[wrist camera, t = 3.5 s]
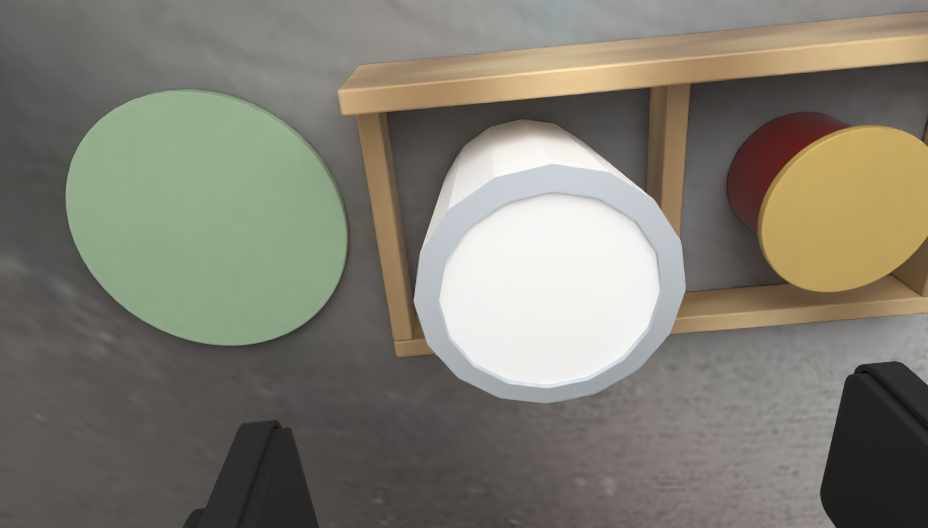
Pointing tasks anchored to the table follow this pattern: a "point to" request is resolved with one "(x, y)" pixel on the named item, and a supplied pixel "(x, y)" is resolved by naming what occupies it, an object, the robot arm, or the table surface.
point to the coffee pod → (832, 199)
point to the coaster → (207, 217)
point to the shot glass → (545, 267)
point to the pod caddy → (670, 76)
